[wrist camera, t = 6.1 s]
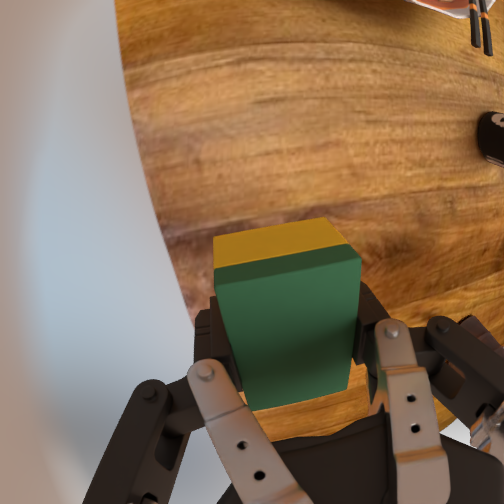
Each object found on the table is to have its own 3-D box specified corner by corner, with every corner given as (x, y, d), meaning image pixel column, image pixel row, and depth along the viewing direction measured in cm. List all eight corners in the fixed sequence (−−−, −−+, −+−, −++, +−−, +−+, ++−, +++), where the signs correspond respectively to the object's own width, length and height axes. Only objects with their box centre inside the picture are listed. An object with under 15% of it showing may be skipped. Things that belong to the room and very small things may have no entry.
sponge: (212, 236, 11) (213, 287, 8) (324, 216, 11) (363, 257, 8) (242, 357, 15) (249, 412, 12) (325, 339, 15) (347, 390, 12)
